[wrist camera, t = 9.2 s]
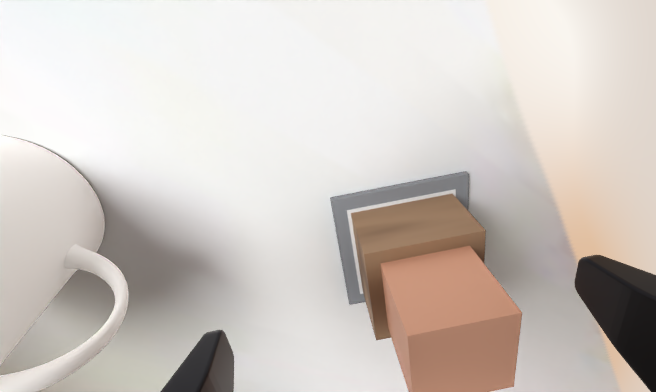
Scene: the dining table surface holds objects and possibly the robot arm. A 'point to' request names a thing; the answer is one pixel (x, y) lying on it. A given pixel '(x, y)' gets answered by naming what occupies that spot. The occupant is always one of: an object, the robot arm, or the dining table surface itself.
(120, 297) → the mug
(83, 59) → the dining table surface
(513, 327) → the cube
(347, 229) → the gray square frame
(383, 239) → the base block
